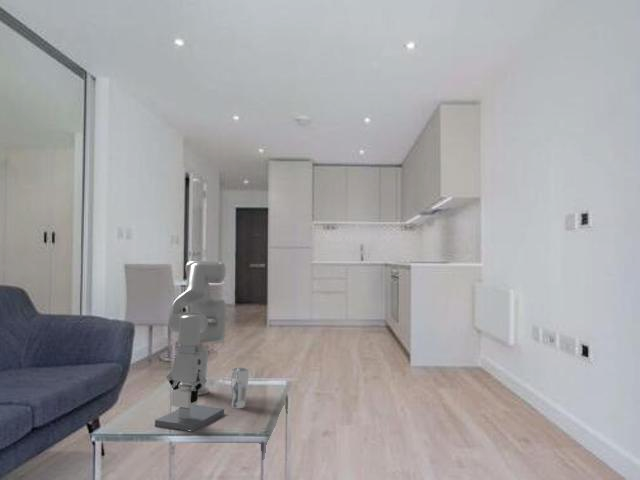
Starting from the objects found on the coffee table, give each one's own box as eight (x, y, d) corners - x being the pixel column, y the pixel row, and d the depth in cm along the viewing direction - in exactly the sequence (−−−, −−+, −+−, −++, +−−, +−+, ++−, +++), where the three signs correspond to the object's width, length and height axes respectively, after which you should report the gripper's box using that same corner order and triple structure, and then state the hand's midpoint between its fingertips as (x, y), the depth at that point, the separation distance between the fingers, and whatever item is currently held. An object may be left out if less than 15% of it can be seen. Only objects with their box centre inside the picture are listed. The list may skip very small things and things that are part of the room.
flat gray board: (154, 425, 157) (155, 409, 157) (190, 409, 178) (191, 394, 178) (192, 431, 152) (193, 415, 153) (224, 414, 173) (224, 399, 174)
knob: (171, 405, 158) (172, 386, 159) (181, 401, 165) (183, 382, 165) (187, 407, 156) (188, 388, 157) (197, 403, 163) (198, 384, 163)
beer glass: (239, 403, 188) (241, 367, 190) (250, 407, 184) (252, 369, 185) (226, 406, 183) (228, 369, 184) (237, 410, 179) (239, 371, 180)
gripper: (214, 350, 163) (211, 400, 162) (173, 346, 168) (170, 395, 167) (203, 353, 156) (200, 406, 155) (161, 349, 161) (157, 400, 160)
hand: (184, 400), depth 161 cm, fingers closed on knob, 6 cm apart
